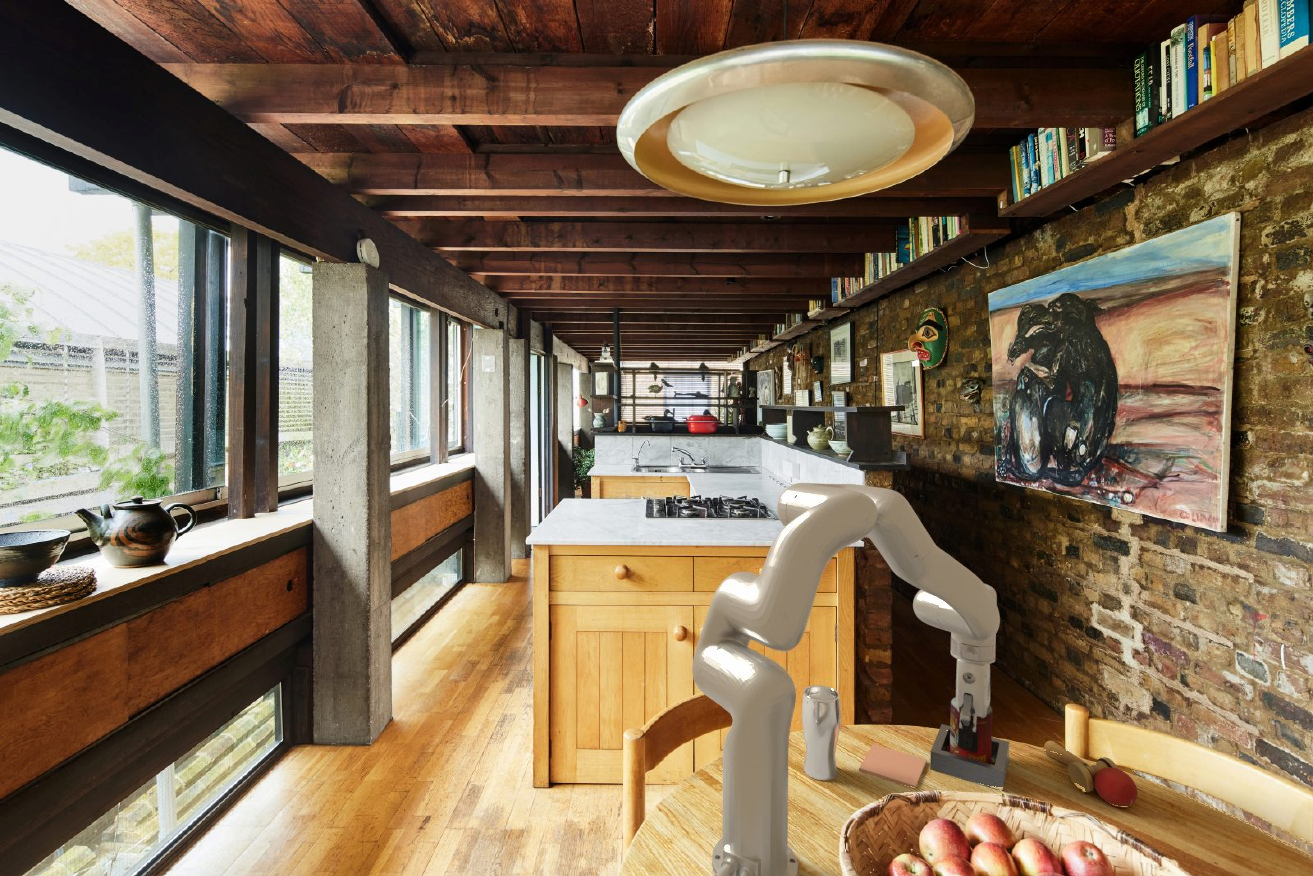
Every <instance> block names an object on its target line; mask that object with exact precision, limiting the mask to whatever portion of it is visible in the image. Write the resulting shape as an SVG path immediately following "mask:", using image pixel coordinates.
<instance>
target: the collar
mask: <svg viewBox="0 0 1313 876" xmlns="http://www.w3.org/2000/svg"><path fill="white" fill-rule="evenodd" d="M946 730H948V731H946ZM991 745H992V747H991V760H995V763H994V764H991V763H990V764H988V763H985V762H981V761H977V760H974V759H970V758H967V757H963V756H960V755H956V754H953V753H950V751H948V748H950V725H947V724H943V723H941V725H940V728H939V730H938V732H937V734H936V737H935V740H934V742H933V745H932V746H931V749H930V761H929V762H930V767H929V769H930V770H931V771H935V772H937V773H941V774H945V775H948V776H949V777H954V778H958V779H960V778H961V780H964V781H967V782H971V783H974V782H975V783H974V784H977V783H981V784H984V785H989V786H994V787H995V786H996V787H1004V788H1005V784H1004V782H1006V778H1005V777H1007V772H1008V766H1009V761H1010V759H1009V758H1010V741H1008V740H1004V739H1001V740H1000V738H996V737H993V736H992V743H991ZM984 785H983V786H984Z"/></svg>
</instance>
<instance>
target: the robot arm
mask: <svg viewBox="0 0 1313 876" xmlns="http://www.w3.org/2000/svg"><path fill="white" fill-rule="evenodd" d="M779 496H780V497H779V498H778V501H777V507H776V508H777V511H776V512H777V515H778V518H779V521H780V523H782V525H783V526H784V527H783V528H782V529H781V531H779V533H777V535H776V537H775V538H774V540H773V541H772V544H771V546H770V548H769V550H768V553H767V556H766V558H765V561H764V563H763V566H762V567H761V568H762V569H761V571H760V574H756V573H753V572H750V571H738V572H734V573H732V574H730V575H729V576H727V577H726V578H724V579H723V581H722V582H720V584H719V585H718V587H717V588H716V590H715V592H714V593H713V596H712V598H711V602H710V604H709V608H708V610H707V613H706V617H705V620H704V623H703V626H702V630H701V632H700V636H699V639H698V641H697V644H696V648H695V651H694V656H693V661H692V669H691V671H692V678H693V681H694V684H695V685H696V687H697V688H698V689H699V691H700V692H702V693H703V694H704V696H706V697H708V698H709V699H711V701H713V702H715V703H716V704H717V705H719V706H721V707H722V708H723V709H724V710H725V711H727V713H729V714H730V715H731V717H732V723H731V726H730V728H729V729H728V732H727V733H726V735H725V737H724V741H723V747H722V838H721V839H719V841H718V842H717V843H716V844H715V846H714V847H713V849H712V853H711V867H712V869H713V872H714V876H799V864H798V863H799V862H798V859H797V856H796V854H795V852H794V851H793V850H792V848H791V847H790V846H789V845H788V838H789V835H788V834H789V833H788V831H789V828H788V827H789V821H788V820H789V819H788V818H789V745H790V734H791V733H790V732H791V727H792V721H793V716H794V712H795V708H796V702H797V690H796V685H795V681H794V680H793V678H792V676H791V675H790V673H789V672H788V671H787V670H786V669H785V668H784V666H782V665H780V664H779V663H778V662H776V661H775V660H774V659H771V658H769V657H768V656H765V655H764V654H762V653H760V652H758V651H756V650H754V649H751V648H750V647H749V646H750V645H749V644H750V643H751V640H752V641H754V642H756V643H758V644H760V645H762V646H765V647H766V648H769V649H771V650H774V651H778V652H790V651H792V650H794V649H795V648H796V647H797V646H798V645H799V644H800V642H801V641H802V638H803V636H804V634H805V631H806V629H807V626H808V622H809V620H810V619H809V618H810V615H811V612H812V608H813V606H814V603H815V598H816V596H817V593H818V589H819V585H820V582H821V579H822V577H823V574H824V572H825V571H824V570H825V569H826V567H827V566H828V564H829V562H830V561H831V560H832V558H834V557H835V556H836V555H837V554H838V553H840V551H842V550H843V549H845V548H846V547H849V546H851V545H852V544H854V543H857V542H859V541H861V540H863V539H864V538H866V537H867V538H869V539H870V541H871V542H872V544H873V545H874V546H875V548H876V550H878V552H879V553H880V555H881V556H882V558H883V559H884V560H885V562H886V563H887V565H888V566H889V568H890V569H891V571H892V572H893V573H894V574H895V575H896V576H897V577H899V578H900V579H902V580H904V582H906V583H908V584H910V585H911V586H914V587H915V588H917V589H919V590H918V591H917V592H916V594H915V595H914V598H913V603H912V608H913V611H914V614H915V616H916V617H917V618H918V620H920V621H921V622H923V623H925V624H927V625H929V626H931V627H934V628H937V629H940V630H943V631H946V632H949V633H950V634H951V635H950V655H951V656H952V657H953V658H955V659H956V675H955V676H956V679H955V688H956V689H955V697H956V709H957V711H958V712H959V713H960V723H959V727H958V747H959V748H960V749H963V750H967V751H971V752H974V753H977V751H978V731H977V730H976V728H977V716H979V717H981V718H985V717H986V715H987V710H988V706H989V705H990V704H991V703H990V702H991V664H993V663H995V662H996V648H997V647H996V645H997V644H996V642H997V641H996V639H997V638H996V637H997V635H996V634H997V633H998V630H999V628H1000V624H1001V617H1000V611H999V608H998V605H997V604H998V603H997V601H998V600H997V599H998V598H997V597H998V596H997V592H996V591H997V590H995V588H993V586H990V585H989V584H987V583H984V582H983V581H982V580H981V579H980V578H979V577H978V576H977V575H976V574H975V573H973V572H972V571H971V570H970V569H969V568H967V567H966V566H964V565H963V564H962V563H960V562H959V561H958V560H956V559H955V558H954V557H953V556H951V555H950V554H949V553H947V552H945V550H943V549H941V548H940V547H939V546H937V545H936V543H935V542H934V540H933V539H932V537H931V535H930V534H929V532H928V531H927V529H926V528H925V526H924V525H923V523H922V522H921V520H920V518H919V516H918V515H917V514H916V512H915V510H914V509H913V507H912V505H911V504H910V502H909V501H908V500H907V499H906V498H905V496H904V495H902V493H900V492H898V491H897V490H893V489H890V488H885V487H877V486H870V485H869V486H868V485H863V484H854V483H817V482H815V483H814V482H813V483H812V482H798V483H794V484H791V485H789V486H788V487H787V488H785V489H784V491H782V493H781V494H780V495H779ZM971 709H972V710H975V714H974V713H971ZM970 716H971V717H974V718H973V722H972V720H971V717H970Z"/></svg>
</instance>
